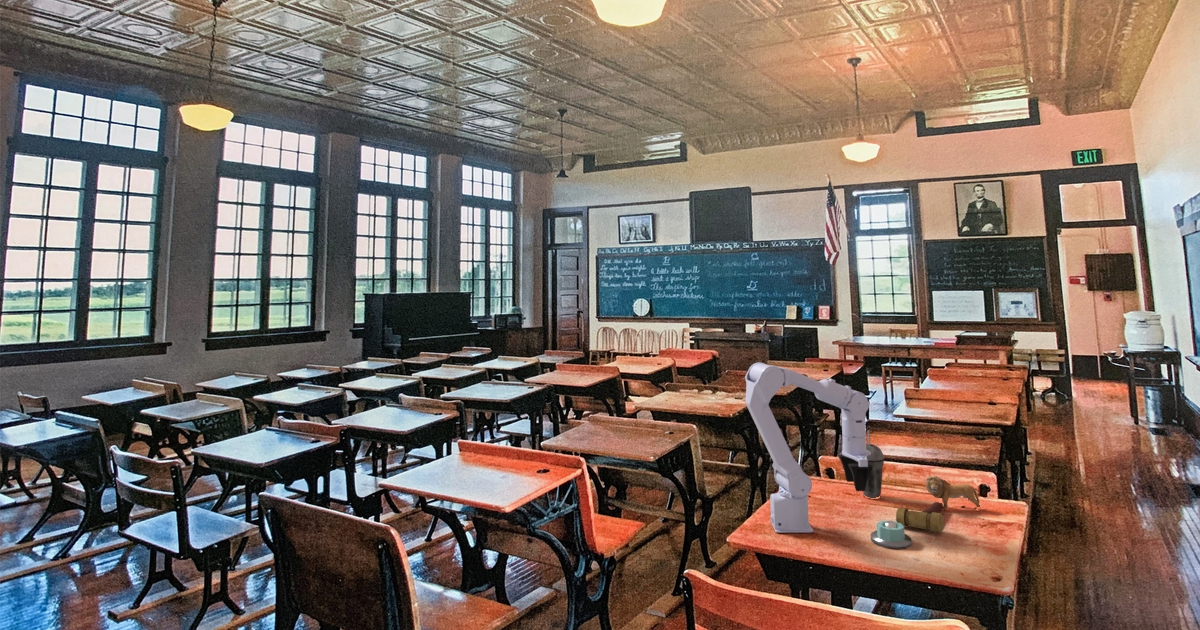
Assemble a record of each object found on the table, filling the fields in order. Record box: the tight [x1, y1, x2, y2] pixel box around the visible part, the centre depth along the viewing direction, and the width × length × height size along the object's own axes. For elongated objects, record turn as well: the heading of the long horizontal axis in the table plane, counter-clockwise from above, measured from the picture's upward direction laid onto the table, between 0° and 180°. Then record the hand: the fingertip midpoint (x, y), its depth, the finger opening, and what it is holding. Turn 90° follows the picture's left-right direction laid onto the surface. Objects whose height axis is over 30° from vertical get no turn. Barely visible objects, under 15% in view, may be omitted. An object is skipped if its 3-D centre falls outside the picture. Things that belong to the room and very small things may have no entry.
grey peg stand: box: [870, 520, 913, 550], centre depth 146 cm, size 9×9×4 cm
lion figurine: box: [925, 475, 981, 511], centre depth 164 cm, size 15×5×9 cm, turn 86°
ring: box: [876, 520, 906, 542], centre depth 146 cm, size 6×6×3 cm
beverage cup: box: [862, 429, 885, 498], centre depth 176 cm, size 7×7×20 cm
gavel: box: [895, 501, 945, 534], centre depth 157 cm, size 21×5×10 cm
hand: (855, 485), depth 159 cm, fingers open, 7 cm apart
